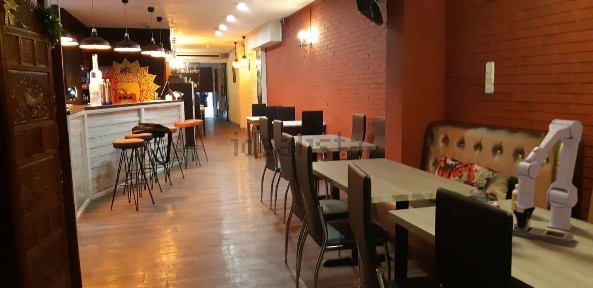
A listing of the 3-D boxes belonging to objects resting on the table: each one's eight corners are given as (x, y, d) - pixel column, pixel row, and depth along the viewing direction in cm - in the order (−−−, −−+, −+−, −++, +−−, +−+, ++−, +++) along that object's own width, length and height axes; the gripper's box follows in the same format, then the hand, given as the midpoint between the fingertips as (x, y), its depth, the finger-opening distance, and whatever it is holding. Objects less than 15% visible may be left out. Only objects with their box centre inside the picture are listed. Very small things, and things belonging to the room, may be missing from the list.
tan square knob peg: (518, 231, 180) (519, 216, 179) (529, 233, 178) (530, 218, 177) (516, 233, 177) (517, 218, 176) (527, 236, 175) (528, 220, 174)
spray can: (484, 235, 175) (488, 184, 173) (485, 239, 170) (489, 187, 168) (469, 233, 177) (472, 183, 175) (470, 238, 172) (473, 186, 169)
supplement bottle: (512, 214, 204) (514, 186, 202) (509, 210, 210) (511, 183, 208) (528, 215, 202) (530, 187, 200) (525, 211, 208) (527, 184, 206)
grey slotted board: (510, 227, 184) (511, 222, 184) (573, 239, 171) (573, 234, 170) (504, 233, 177) (505, 228, 177) (569, 246, 164) (569, 240, 163)
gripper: (519, 187, 183) (517, 220, 185) (509, 194, 172) (507, 228, 174) (538, 190, 179) (536, 223, 181) (530, 197, 168) (527, 232, 170)
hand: (523, 226), depth 177 cm, fingers open, 6 cm apart
